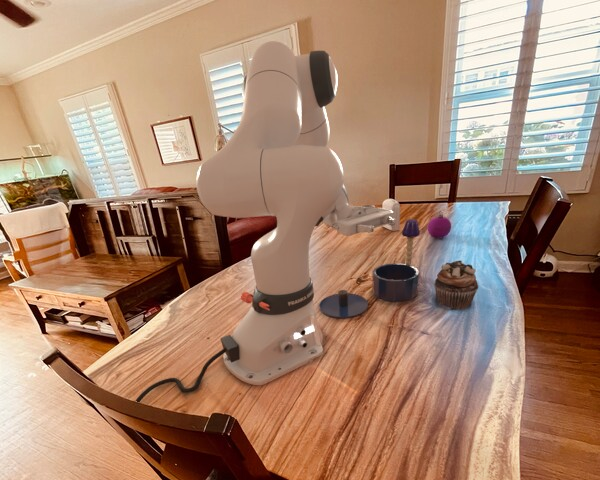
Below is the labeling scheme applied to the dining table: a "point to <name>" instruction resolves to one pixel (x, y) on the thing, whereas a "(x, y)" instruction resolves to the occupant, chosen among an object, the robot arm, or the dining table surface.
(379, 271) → the pot
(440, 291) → the cupcake
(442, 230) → the christmas ornament
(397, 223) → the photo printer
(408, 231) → the toy lamp
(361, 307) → the pot lid
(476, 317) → the dining table surface
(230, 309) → the dining table surface
